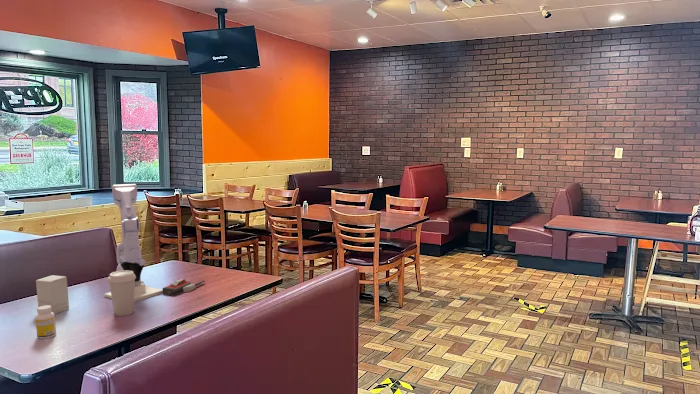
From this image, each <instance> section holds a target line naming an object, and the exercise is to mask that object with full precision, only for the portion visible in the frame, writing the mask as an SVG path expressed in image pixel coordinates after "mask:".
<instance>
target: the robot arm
mask: <svg viewBox="0 0 700 394" xmlns="http://www.w3.org/2000/svg"><path fill="white" fill-rule="evenodd" d="M111 189H112V190H111V192H112V202H113V204H114V205H116V206H118V209H119V211H120V226H121V235H122V236H121V237H122V238H121V239H122V242H121V243H119V244H118V245H117V247H116V248H115V249H116V251H115V253H116V263H117V264H118V265H116V266H117V267H116V269H115V272H116V271H123V270H129V271H133V272H134V274H135V276H136V278H135V282H136V281H139V280H140V276H141V275H142V271H143V269H144V268H145V266H146V260H145V259H143V258H142V249H141V245H140V237H139V232H140V220H139V218H138V215H137V209H136V208H135V207H134V206H133V205H134V204H136V203H137V199H138V187H137V184H136V183H125V184H124V183H123V184H115V183H114V184H113V185H112V186H111ZM141 283H143V284H144V281H143V280H141Z"/></svg>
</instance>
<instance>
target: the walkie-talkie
mask: <svg viewBox="0 0 700 394" xmlns="http://www.w3.org/2000/svg"><path fill="white" fill-rule="evenodd" d="M205 282H206V280H201V281H199V282H197V283H192V282H191V281H186V279H183V278H179V279H177V280H175V281H174V282H173V283H169V284H170V285H167V286H165V287H162V290H163V293H162V295H167V296H177V295H178V294H179V295H180V294H181V293H186V292H187V293H188V292H191V291H192V290H195V289H196V287H198V286H200V285H202V284H203V283H205Z"/></svg>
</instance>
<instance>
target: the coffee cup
mask: <svg viewBox="0 0 700 394" xmlns="http://www.w3.org/2000/svg"><path fill="white" fill-rule="evenodd" d="M135 278H136V276H135V274H134V272H133V271H129V270H123V271H116V270H115V271H112V272H111V273H109V275H108V277H107V282H109V289H110V292H111V296H112V299H111V301H112V307H113V314H114V316H117V317H122V316H128V315H131V314H134V310H135V309H134V307H135V302H134V284H135Z"/></svg>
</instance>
